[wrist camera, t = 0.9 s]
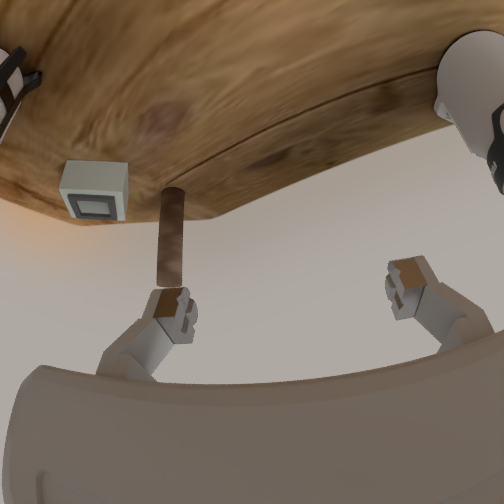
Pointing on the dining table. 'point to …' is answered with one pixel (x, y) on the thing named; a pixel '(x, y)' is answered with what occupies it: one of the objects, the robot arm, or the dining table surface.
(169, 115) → the dining table surface
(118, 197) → the collar block
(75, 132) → the dining table surface
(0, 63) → the coffee press
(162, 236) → the dowel
